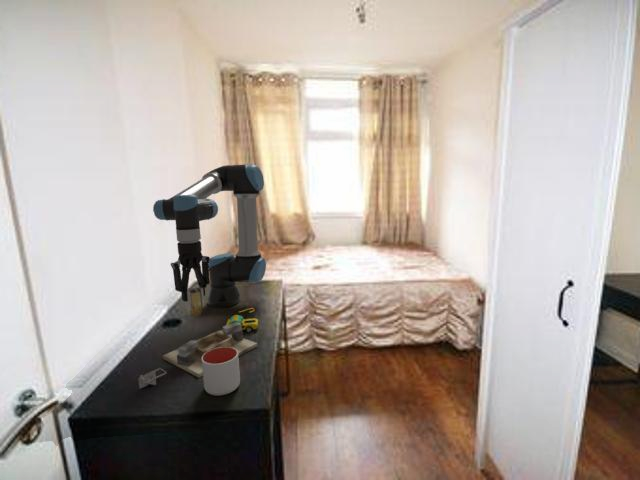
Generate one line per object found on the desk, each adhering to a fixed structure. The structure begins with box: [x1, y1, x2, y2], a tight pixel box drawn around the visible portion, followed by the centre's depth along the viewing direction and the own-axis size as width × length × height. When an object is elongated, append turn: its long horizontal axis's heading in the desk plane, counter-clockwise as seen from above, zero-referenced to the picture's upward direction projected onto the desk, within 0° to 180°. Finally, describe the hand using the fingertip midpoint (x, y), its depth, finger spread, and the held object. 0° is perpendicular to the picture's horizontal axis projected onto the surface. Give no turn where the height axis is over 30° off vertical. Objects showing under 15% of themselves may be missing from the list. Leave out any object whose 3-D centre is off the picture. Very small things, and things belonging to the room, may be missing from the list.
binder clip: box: [138, 367, 168, 389], centre depth 104 cm, size 6×4×6 cm, turn 141°
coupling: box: [187, 287, 203, 317], centre depth 124 cm, size 4×4×9 cm
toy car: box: [225, 307, 259, 333], centre depth 141 cm, size 12×8×8 cm, turn 97°
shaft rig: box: [162, 322, 258, 378], centre depth 123 cm, size 25×20×7 cm
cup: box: [202, 347, 241, 397], centre depth 102 cm, size 10×10×10 cm
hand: (194, 307), depth 124 cm, fingers closed on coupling, 4 cm apart
